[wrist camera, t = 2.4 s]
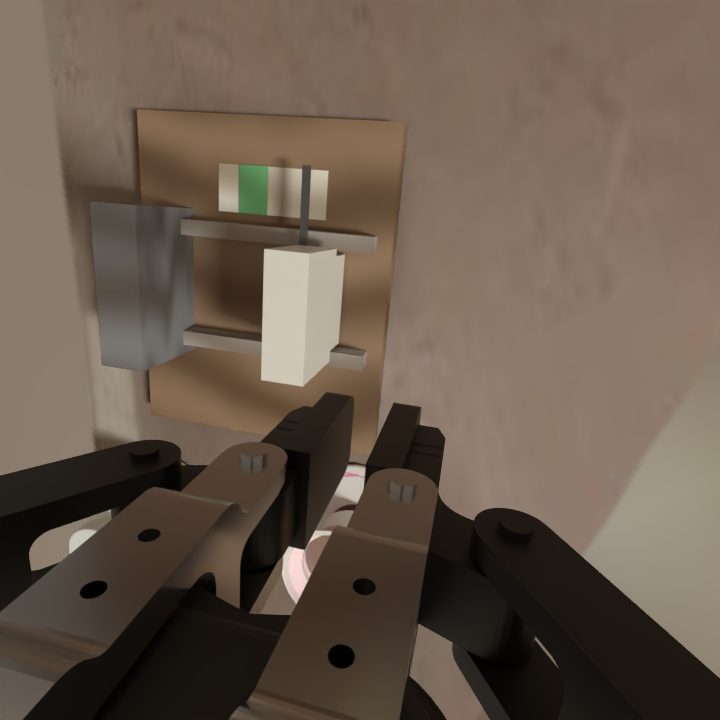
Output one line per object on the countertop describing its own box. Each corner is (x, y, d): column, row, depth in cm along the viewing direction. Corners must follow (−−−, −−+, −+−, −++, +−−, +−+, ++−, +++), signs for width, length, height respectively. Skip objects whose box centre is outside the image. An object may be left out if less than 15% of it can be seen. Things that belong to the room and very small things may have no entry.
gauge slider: (289, 168, 31) (231, 150, 23) (354, 172, 30) (314, 155, 22) (283, 342, 34) (230, 375, 27) (340, 350, 33) (302, 386, 26)
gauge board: (151, 114, 33) (64, 84, 26) (407, 126, 30) (387, 96, 23) (162, 407, 40) (95, 446, 33) (375, 445, 36) (351, 499, 29)
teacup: (261, 502, 40) (225, 548, 34) (375, 435, 36) (356, 475, 30) (343, 611, 41) (322, 675, 36) (463, 558, 37) (461, 620, 32)
